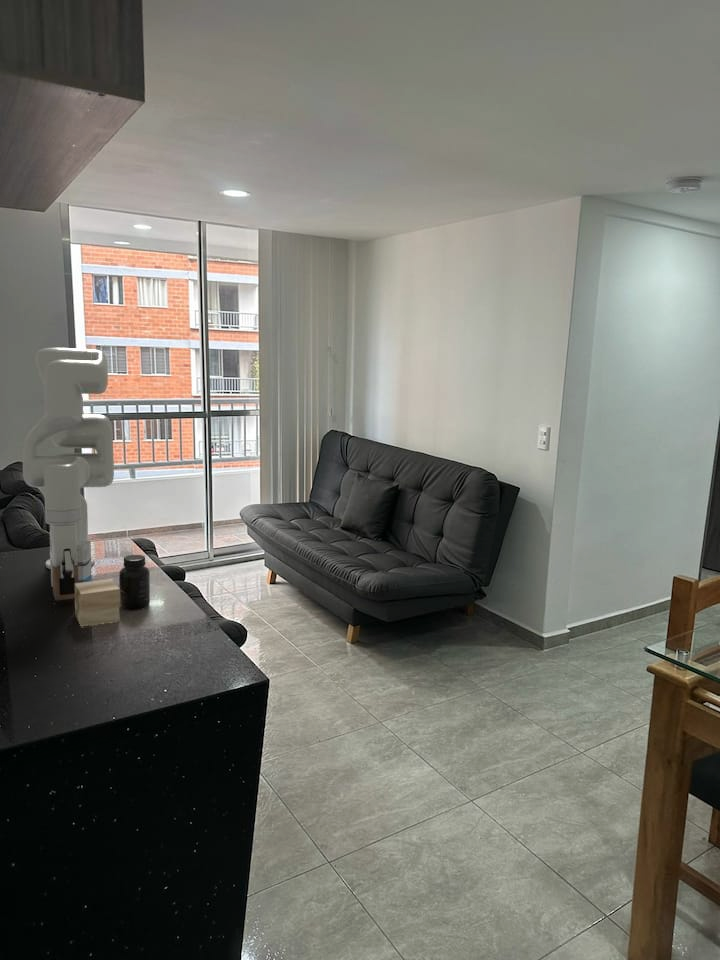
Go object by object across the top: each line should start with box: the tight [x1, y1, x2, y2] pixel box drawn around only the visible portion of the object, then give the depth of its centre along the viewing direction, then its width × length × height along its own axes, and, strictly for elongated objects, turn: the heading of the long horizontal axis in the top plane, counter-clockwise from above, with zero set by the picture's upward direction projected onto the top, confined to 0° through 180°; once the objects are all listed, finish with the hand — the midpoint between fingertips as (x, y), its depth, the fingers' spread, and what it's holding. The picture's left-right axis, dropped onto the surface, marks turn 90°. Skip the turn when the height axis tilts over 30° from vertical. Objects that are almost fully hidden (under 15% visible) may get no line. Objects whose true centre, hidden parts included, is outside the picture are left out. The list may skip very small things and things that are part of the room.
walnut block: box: [52, 563, 79, 601], centre depth 153 cm, size 5×5×8 cm
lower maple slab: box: [74, 600, 120, 628], centre depth 146 cm, size 8×8×4 cm
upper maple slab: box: [74, 578, 120, 612], centre depth 145 cm, size 8×8×4 cm
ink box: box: [50, 540, 93, 588], centre depth 166 cm, size 8×5×12 cm, turn 84°
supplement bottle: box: [118, 554, 151, 611], centre depth 154 cm, size 7×7×12 cm
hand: (65, 589), depth 154 cm, fingers closed on walnut block, 5 cm apart
